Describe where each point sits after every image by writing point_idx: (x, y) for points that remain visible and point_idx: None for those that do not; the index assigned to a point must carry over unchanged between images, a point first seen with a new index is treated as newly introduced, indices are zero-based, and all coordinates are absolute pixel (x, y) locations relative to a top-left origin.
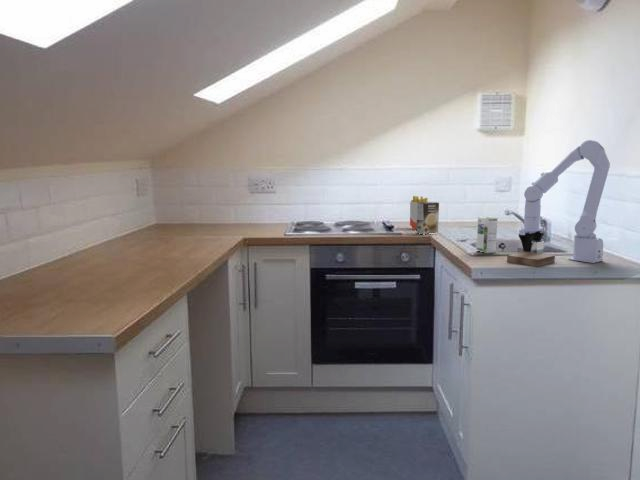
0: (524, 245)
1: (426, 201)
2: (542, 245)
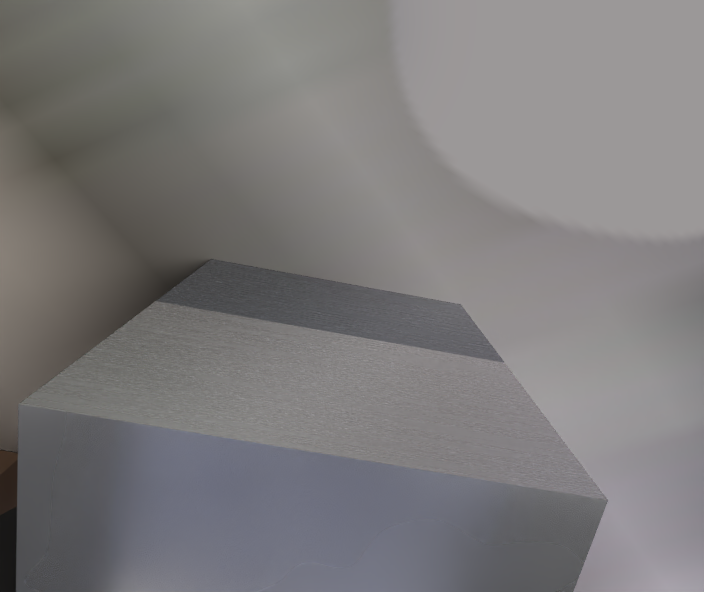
0: None
1: None
2: None
